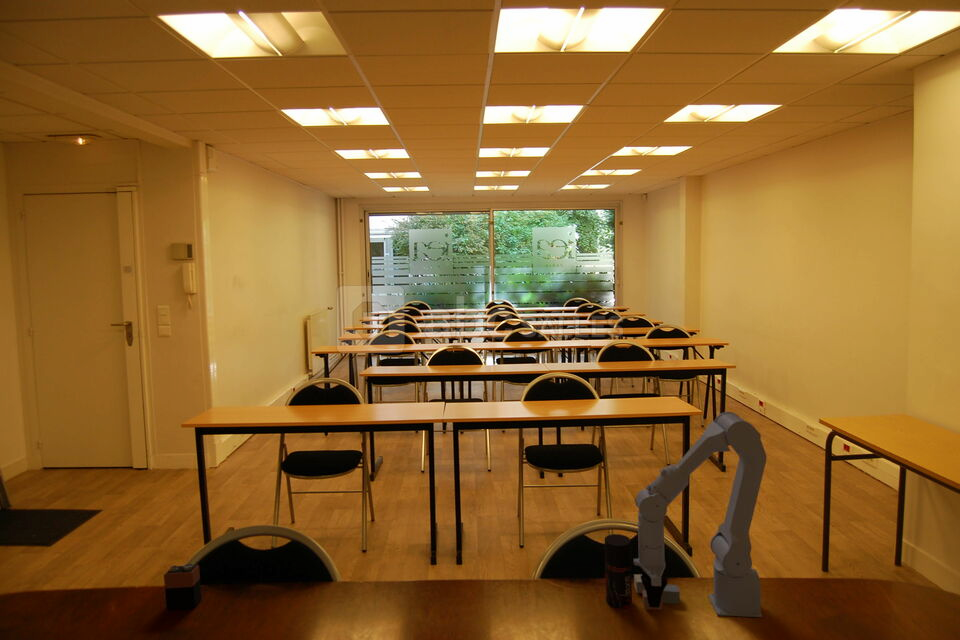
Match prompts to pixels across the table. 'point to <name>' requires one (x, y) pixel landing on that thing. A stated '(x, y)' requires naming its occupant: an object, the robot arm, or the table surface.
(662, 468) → the robot arm
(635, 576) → the cream brick
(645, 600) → the terracotta brick
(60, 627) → the table surface
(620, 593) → the deodorant
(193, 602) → the battery
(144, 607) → the table surface
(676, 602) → the slate brick
